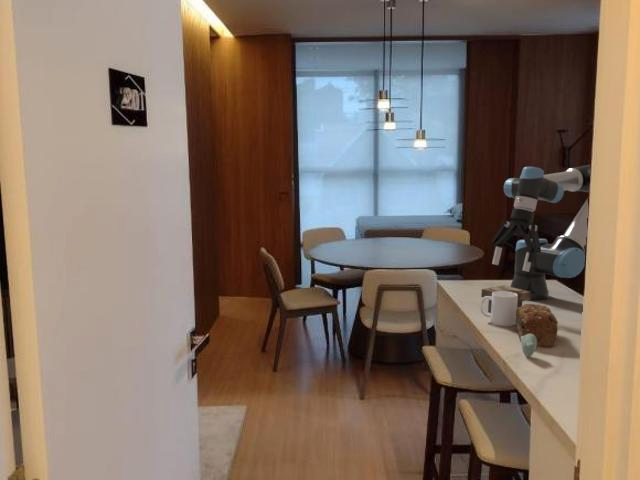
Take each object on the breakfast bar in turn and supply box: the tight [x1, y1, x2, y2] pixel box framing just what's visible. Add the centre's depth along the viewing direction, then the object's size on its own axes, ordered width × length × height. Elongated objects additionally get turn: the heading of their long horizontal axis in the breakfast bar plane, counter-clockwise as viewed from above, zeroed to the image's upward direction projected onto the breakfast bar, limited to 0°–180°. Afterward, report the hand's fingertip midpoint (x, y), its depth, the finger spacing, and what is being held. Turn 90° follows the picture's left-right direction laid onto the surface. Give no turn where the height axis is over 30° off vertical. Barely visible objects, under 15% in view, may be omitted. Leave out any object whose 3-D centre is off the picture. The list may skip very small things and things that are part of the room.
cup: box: [479, 291, 518, 327], centre depth 205 cm, size 8×12×10 cm
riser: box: [487, 300, 523, 314], centre depth 219 cm, size 11×6×5 cm, turn 123°
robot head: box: [520, 334, 538, 358], centre depth 171 cm, size 8×4×7 cm, turn 177°
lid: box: [480, 285, 531, 303], centre depth 218 cm, size 12×12×3 cm
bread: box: [515, 303, 559, 348], centre depth 188 cm, size 19×11×10 cm, turn 167°
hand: (509, 267), depth 217 cm, fingers open, 13 cm apart
